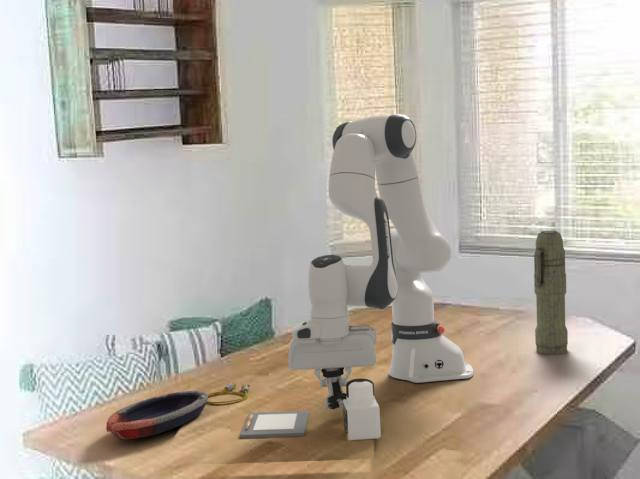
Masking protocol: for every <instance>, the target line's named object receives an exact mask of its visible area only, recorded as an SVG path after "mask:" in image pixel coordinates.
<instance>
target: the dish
mask: <svg viewBox="0 0 640 479" xmlns="http://www.w3.org/2000/svg"><path fill="white" fill-rule="evenodd" d="M207 394H208V393H206V392H205V391H200V390H185V391H184V390H183V391H177V392H171V393H166V394H161V395H157V396H154V397H150V398H146V399H144V400H141V401H137V402H134V403H132V404H129V405H127V406H125V407H123V408H120V409H118V410H116V411H115V412H113V413H112V414H111V415H110V416H109V417H108V418H107V421H106V426H105V428H106V432H107V433H109V432H110V433H111V434H112V435H113V436H115V437H116V438H119V439H120V440H121V439H123V440H135V439H139V438H143V437H144V438H145V437H149V436H154V435H158V434H162V433H164V432H168V431H170V430H173V429H176V428H177V427H179V426H181V425H184V424H186V423H188V422H190V421H191V420H193V419H195V418H196V417H198V416H199V415H200V414H201V413H202V412H203V410H204V409H205V407H206V405H207V403H206V402H207V401H209V400H208V399H209V397H208V396H207Z"/></svg>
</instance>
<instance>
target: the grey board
mask: <svg viewBox="0 0 640 479" xmlns="http://www.w3.org/2000/svg"><path fill="white" fill-rule="evenodd" d="M308 418H309V410H293V411H292V410H291V411H290V410H287V411H264V412H263V411H261V412H259V411H257V412H248V415H247V418H246V420H245V422H244V425H243V427H242V429H241V432H240V435H239V437H240V438H239V439H246V438H247V439H250V438H251V439H253V438H254V439H255V438H280V437H281V438H282V437H285V438H286V437H287V438H288V437H304V436H305V435H306V429H307V424H308Z"/></svg>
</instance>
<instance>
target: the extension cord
mask: <svg viewBox="0 0 640 479" xmlns="http://www.w3.org/2000/svg"><path fill="white" fill-rule="evenodd" d="M236 386H237V383H236V382H234V381H232V382H229V383H227V384H226V385H225V387H224V389H222V390H220V391H214V392H210V393H206V394H207V396H208V398H210V397H213V396H220V395H230V394H232V395H237V396H241V397H242V398H238V399H233V400H224V401H209V400H207V402H206V404H208V405H212V406H213V405H215V406H224V405H232V404H236V403H240V402H243V401H246V400H248V399H249V398H248V397H249V396H248V394H247V393H248V392H249V390H250V384H249V383H244V384H242V385H241V391H242V392H241V391H239V392H238V391H233V390H234V389H235V388H236Z"/></svg>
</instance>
